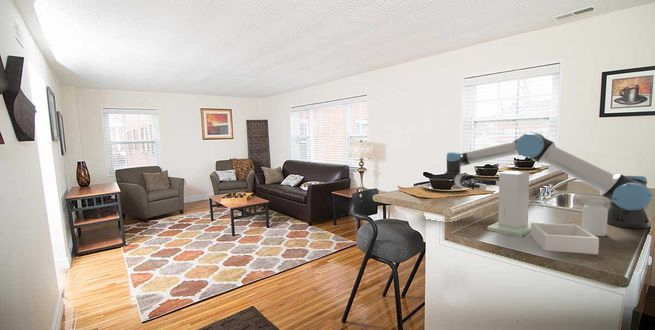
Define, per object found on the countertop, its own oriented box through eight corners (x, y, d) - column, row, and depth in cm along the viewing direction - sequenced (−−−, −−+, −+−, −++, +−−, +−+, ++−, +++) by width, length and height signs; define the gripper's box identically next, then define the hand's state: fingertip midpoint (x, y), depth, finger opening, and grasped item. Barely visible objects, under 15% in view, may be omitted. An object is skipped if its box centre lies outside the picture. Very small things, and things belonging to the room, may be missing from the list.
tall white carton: (498, 224, 142) (499, 172, 139) (509, 220, 146) (510, 170, 143) (516, 228, 134) (518, 174, 131) (528, 225, 138) (529, 172, 135)
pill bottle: (611, 237, 124) (613, 201, 122) (589, 236, 125) (591, 201, 124) (598, 230, 132) (600, 197, 130) (577, 230, 133) (579, 197, 132)
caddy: (576, 238, 123) (577, 224, 123) (598, 254, 108) (598, 238, 107) (530, 236, 128) (531, 222, 128) (545, 250, 113) (545, 235, 112)
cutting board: (507, 220, 152) (507, 217, 152) (539, 226, 141) (539, 222, 141) (487, 229, 139) (487, 226, 139) (521, 237, 128) (521, 233, 127)
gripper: (483, 185, 171) (515, 191, 151) (446, 189, 164) (476, 196, 144) (483, 172, 171) (516, 176, 151) (446, 175, 164) (476, 180, 143)
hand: (496, 186), depth 147 cm, fingers open, 13 cm apart
